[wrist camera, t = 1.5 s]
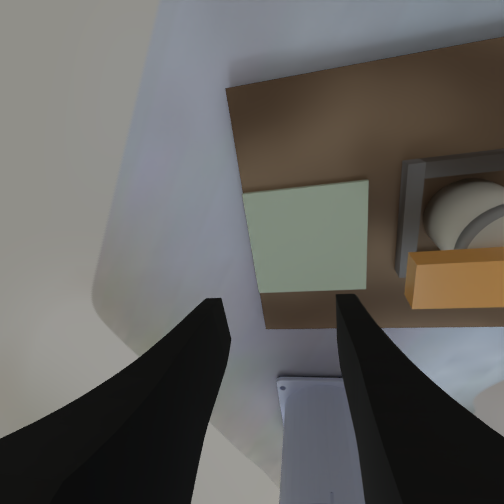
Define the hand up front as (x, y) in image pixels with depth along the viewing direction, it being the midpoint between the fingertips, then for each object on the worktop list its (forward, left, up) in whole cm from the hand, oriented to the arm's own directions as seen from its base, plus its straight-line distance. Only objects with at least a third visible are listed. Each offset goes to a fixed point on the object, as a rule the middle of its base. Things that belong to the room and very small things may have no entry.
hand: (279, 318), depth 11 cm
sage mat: (-1, -1, -8) cm, 9 cm away
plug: (0, -10, -8) cm, 13 cm away
